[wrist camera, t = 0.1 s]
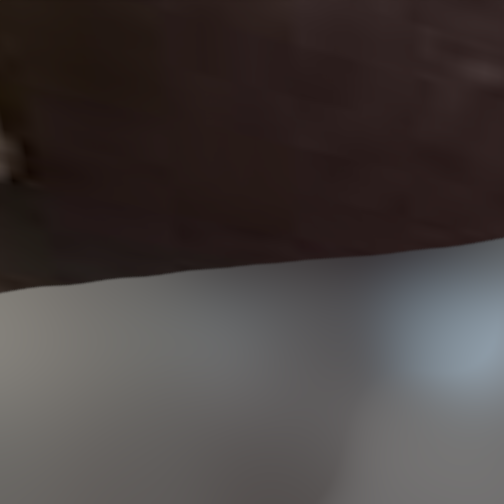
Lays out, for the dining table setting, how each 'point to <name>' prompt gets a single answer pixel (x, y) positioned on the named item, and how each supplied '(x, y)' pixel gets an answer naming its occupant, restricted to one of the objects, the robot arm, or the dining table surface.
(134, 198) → the dining table surface
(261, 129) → the dining table surface
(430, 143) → the dining table surface
